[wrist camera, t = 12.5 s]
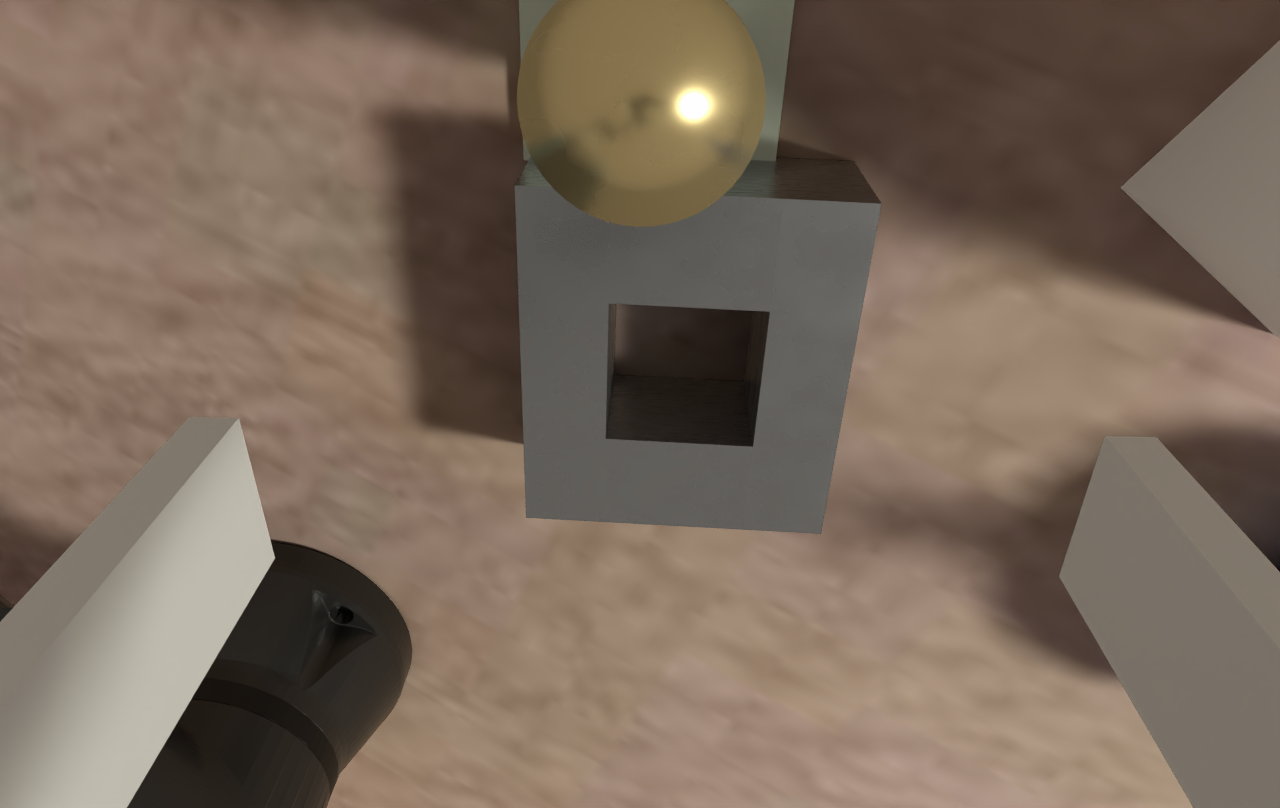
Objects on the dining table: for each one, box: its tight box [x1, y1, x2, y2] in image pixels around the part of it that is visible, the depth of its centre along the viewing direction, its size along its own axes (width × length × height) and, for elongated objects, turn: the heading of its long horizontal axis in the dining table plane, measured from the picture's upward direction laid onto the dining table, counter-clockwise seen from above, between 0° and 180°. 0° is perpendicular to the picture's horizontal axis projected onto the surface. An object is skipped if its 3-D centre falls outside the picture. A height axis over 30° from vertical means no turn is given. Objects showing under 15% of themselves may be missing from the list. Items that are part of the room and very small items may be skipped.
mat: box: [519, 0, 795, 161], centre depth 36 cm, size 11×11×1 cm
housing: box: [515, 157, 881, 534], centre depth 40 cm, size 14×16×6 cm
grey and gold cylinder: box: [517, 0, 766, 227], centre depth 29 cm, size 7×7×14 cm
